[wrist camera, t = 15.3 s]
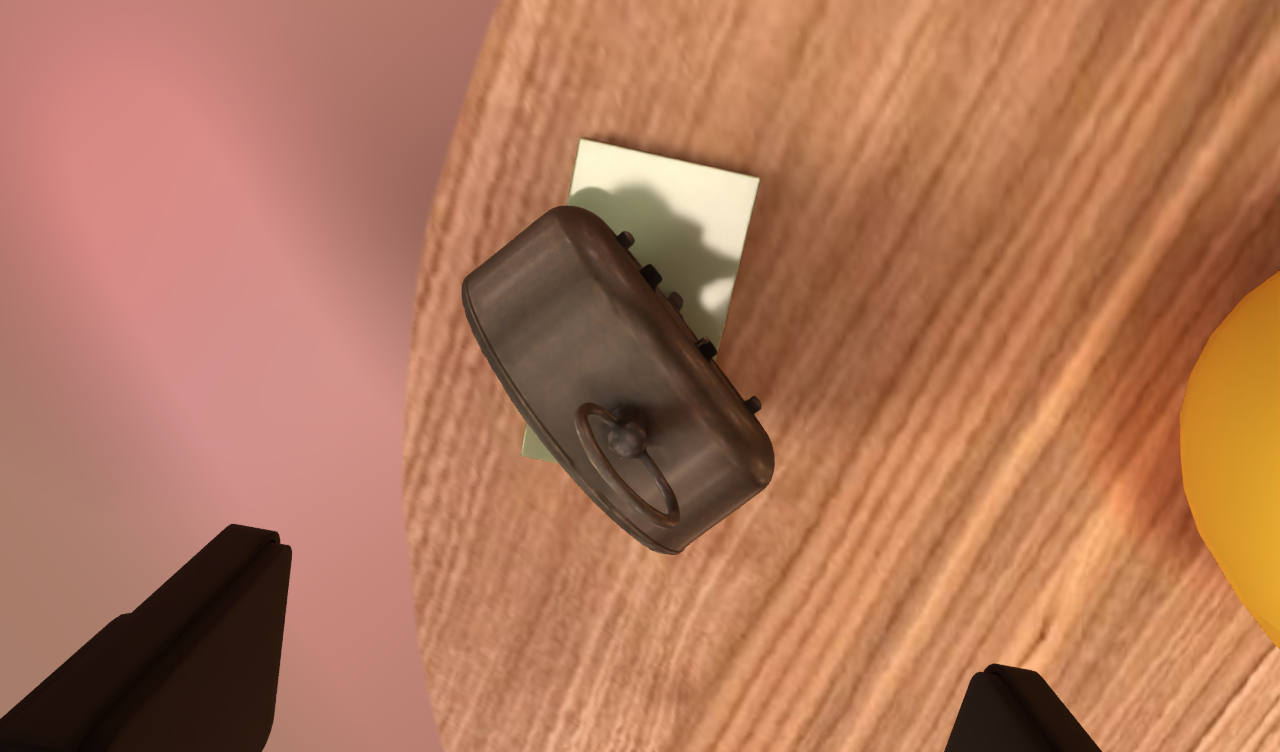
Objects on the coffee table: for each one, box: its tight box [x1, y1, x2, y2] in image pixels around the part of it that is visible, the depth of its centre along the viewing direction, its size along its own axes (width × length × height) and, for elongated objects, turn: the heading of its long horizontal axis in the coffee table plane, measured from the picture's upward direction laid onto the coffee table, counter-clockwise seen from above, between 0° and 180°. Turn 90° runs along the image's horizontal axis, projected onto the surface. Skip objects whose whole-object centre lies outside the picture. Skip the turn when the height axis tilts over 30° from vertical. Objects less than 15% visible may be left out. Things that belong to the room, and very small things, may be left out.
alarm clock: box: [462, 206, 775, 555], centre depth 24 cm, size 11×5×16 cm, turn 38°
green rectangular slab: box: [521, 138, 761, 463], centre depth 32 cm, size 13×7×1 cm, turn 168°
